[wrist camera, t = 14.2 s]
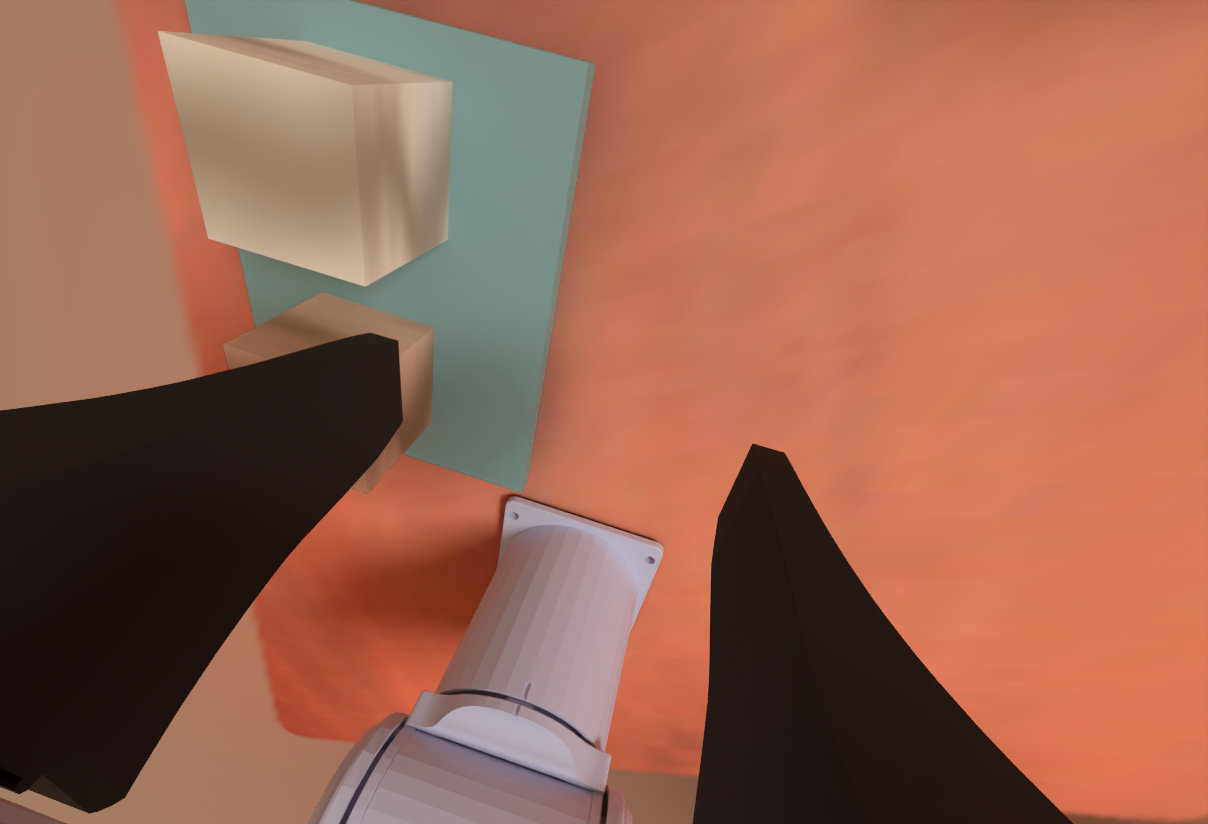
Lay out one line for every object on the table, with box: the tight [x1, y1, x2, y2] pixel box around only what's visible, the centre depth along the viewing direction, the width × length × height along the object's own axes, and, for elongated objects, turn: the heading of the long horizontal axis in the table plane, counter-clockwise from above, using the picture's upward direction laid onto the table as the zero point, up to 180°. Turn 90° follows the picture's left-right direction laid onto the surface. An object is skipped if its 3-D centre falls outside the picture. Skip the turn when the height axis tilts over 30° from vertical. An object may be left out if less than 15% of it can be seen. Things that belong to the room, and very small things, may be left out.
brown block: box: [223, 292, 434, 494], centre depth 19 cm, size 4×4×4 cm
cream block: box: [158, 31, 453, 287], centre depth 14 cm, size 4×4×4 cm
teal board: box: [185, 0, 596, 492], centre depth 19 cm, size 16×12×2 cm
